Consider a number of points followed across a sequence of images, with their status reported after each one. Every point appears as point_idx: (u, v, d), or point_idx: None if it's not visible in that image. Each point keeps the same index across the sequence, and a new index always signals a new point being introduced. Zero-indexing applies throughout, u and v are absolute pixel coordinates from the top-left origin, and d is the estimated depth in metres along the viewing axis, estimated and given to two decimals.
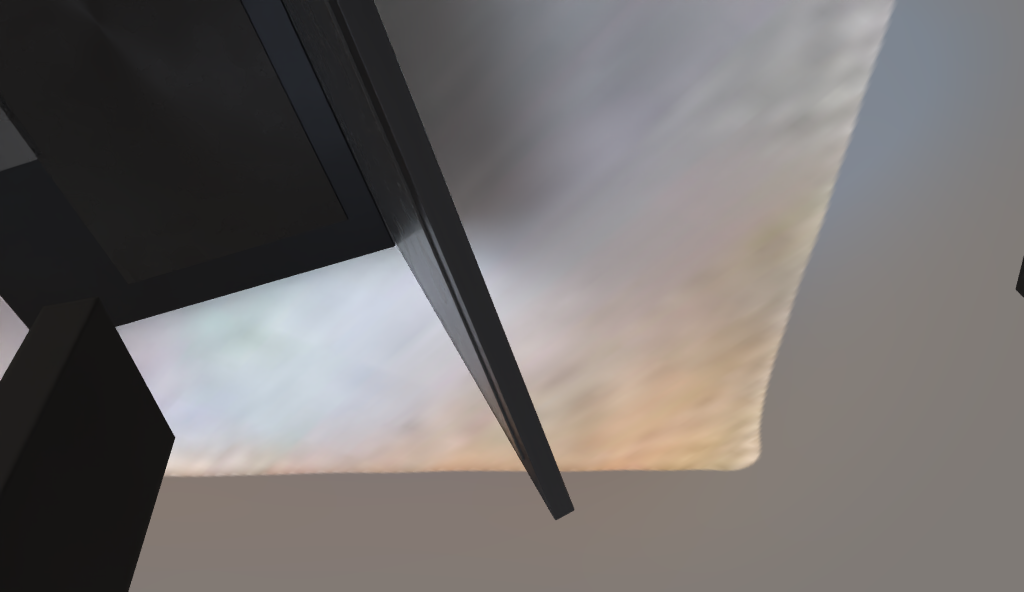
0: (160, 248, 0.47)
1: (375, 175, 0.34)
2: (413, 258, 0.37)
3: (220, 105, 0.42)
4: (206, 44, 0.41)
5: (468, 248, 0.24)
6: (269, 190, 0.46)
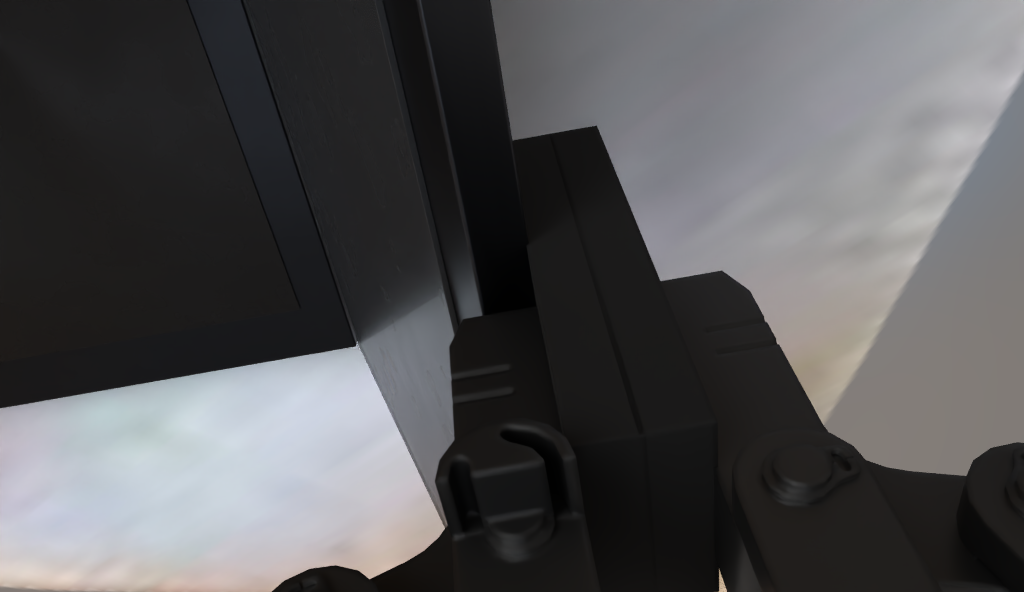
0: (41, 323, 0.35)
1: (366, 291, 0.24)
2: (402, 403, 0.26)
3: (147, 150, 0.32)
4: (137, 70, 0.30)
5: None
6: (201, 263, 0.35)
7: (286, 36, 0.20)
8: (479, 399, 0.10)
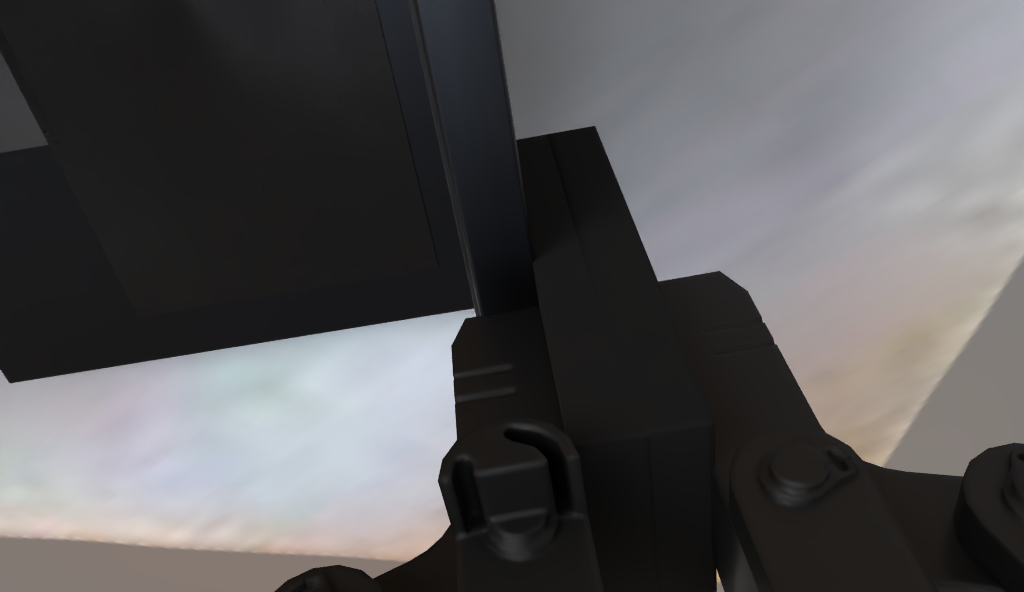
0: (189, 277, 0.36)
1: None
2: None
3: (310, 106, 0.32)
4: (309, 24, 0.30)
5: None
6: (348, 220, 0.35)
7: None
8: (481, 399, 0.10)
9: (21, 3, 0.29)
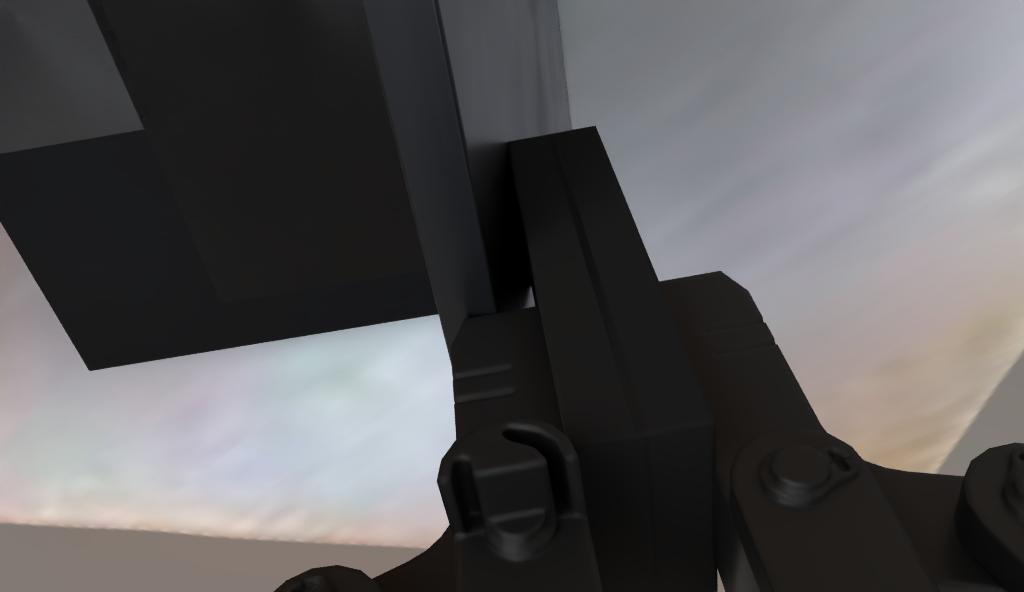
0: (275, 264, 0.36)
1: None
2: None
3: None
4: None
5: None
6: None
7: None
8: (481, 399, 0.10)
9: None
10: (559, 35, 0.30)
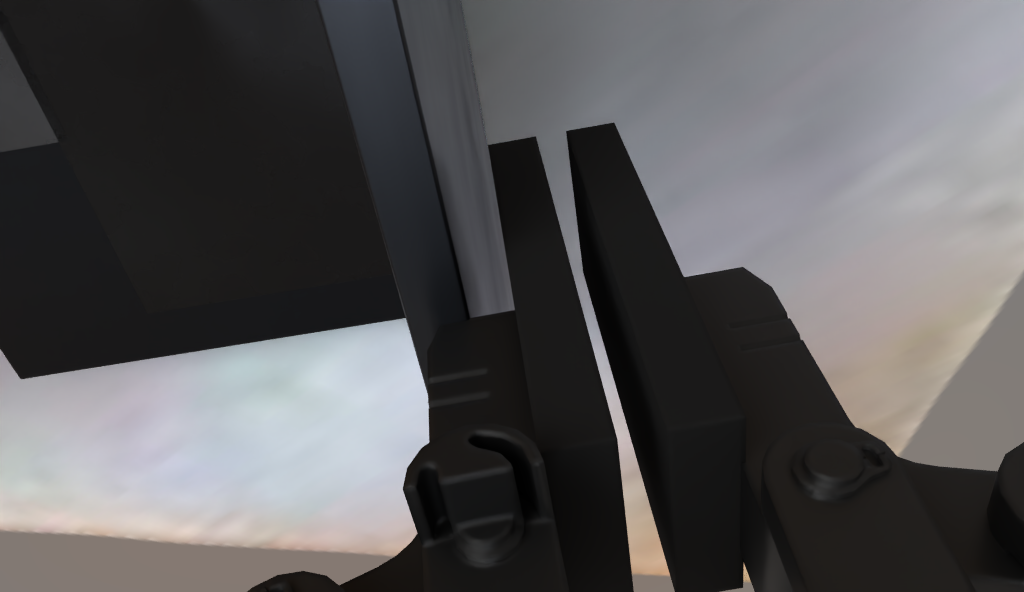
0: (198, 274, 0.36)
1: None
2: None
3: (318, 103, 0.32)
4: (317, 22, 0.30)
5: None
6: (356, 217, 0.35)
7: None
8: (455, 404, 0.10)
9: (31, 1, 0.29)
10: None
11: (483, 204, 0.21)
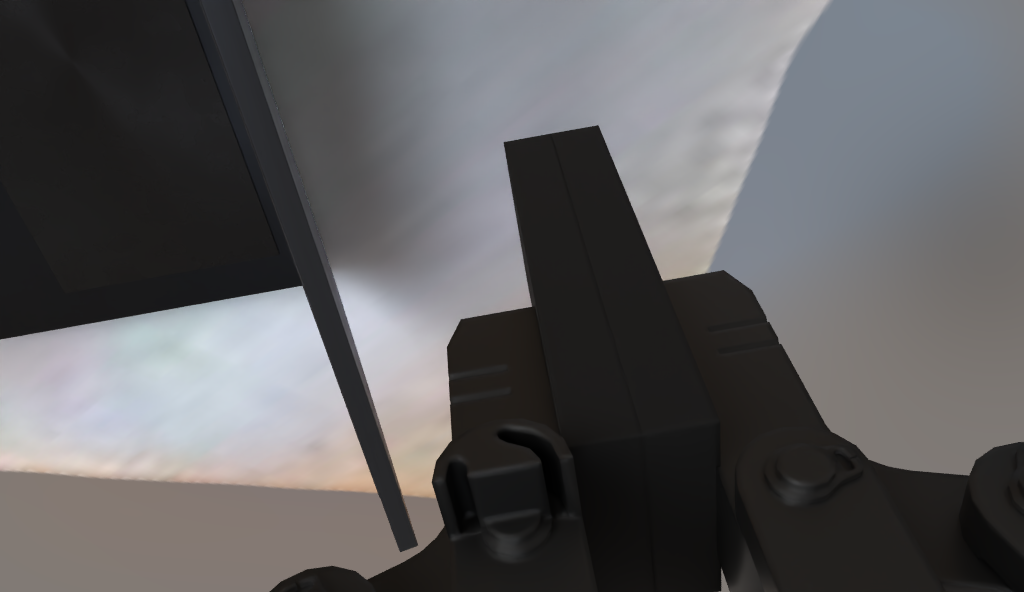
0: (100, 264, 0.51)
1: None
2: None
3: (175, 143, 0.47)
4: (169, 90, 0.45)
5: (340, 324, 0.29)
6: (210, 221, 0.50)
7: None
8: (476, 399, 0.10)
9: None
10: None
11: (301, 190, 0.36)
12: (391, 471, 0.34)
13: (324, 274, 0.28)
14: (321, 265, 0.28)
